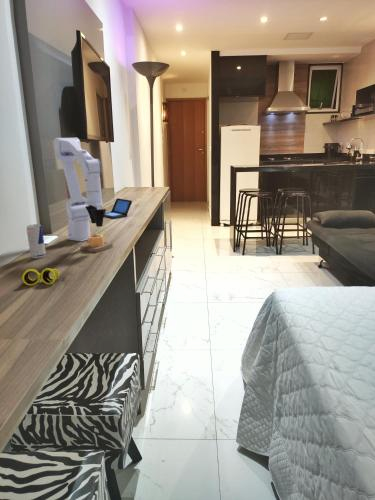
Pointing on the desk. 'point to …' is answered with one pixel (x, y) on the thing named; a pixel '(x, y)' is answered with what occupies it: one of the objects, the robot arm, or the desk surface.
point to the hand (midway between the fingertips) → (97, 224)
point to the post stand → (98, 248)
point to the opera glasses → (40, 276)
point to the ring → (96, 241)
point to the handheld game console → (119, 209)
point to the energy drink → (36, 241)
